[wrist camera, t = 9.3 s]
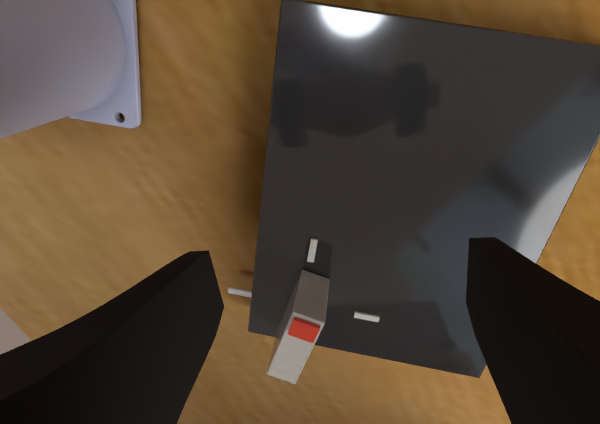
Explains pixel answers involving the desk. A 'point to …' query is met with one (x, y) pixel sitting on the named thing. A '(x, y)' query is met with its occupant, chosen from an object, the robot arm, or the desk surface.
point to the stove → (411, 170)
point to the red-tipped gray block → (299, 327)
